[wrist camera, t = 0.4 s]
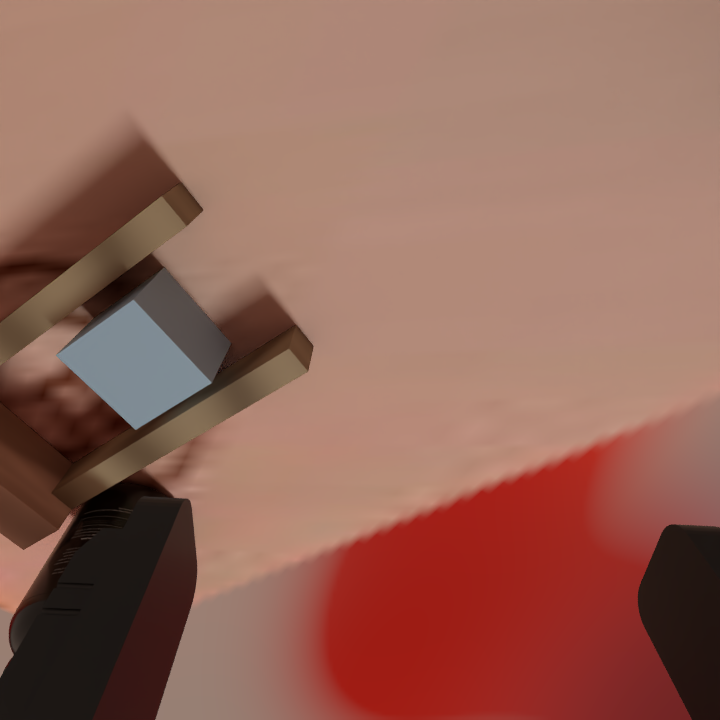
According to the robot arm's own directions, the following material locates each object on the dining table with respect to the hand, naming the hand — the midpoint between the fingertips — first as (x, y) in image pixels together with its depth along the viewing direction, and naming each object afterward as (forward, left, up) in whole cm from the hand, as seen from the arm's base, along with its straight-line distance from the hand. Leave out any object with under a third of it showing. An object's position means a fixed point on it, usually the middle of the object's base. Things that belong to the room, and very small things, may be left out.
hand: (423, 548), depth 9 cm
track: (+17, -2, -19) cm, 25 cm away
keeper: (+13, -2, -19) cm, 23 cm away
